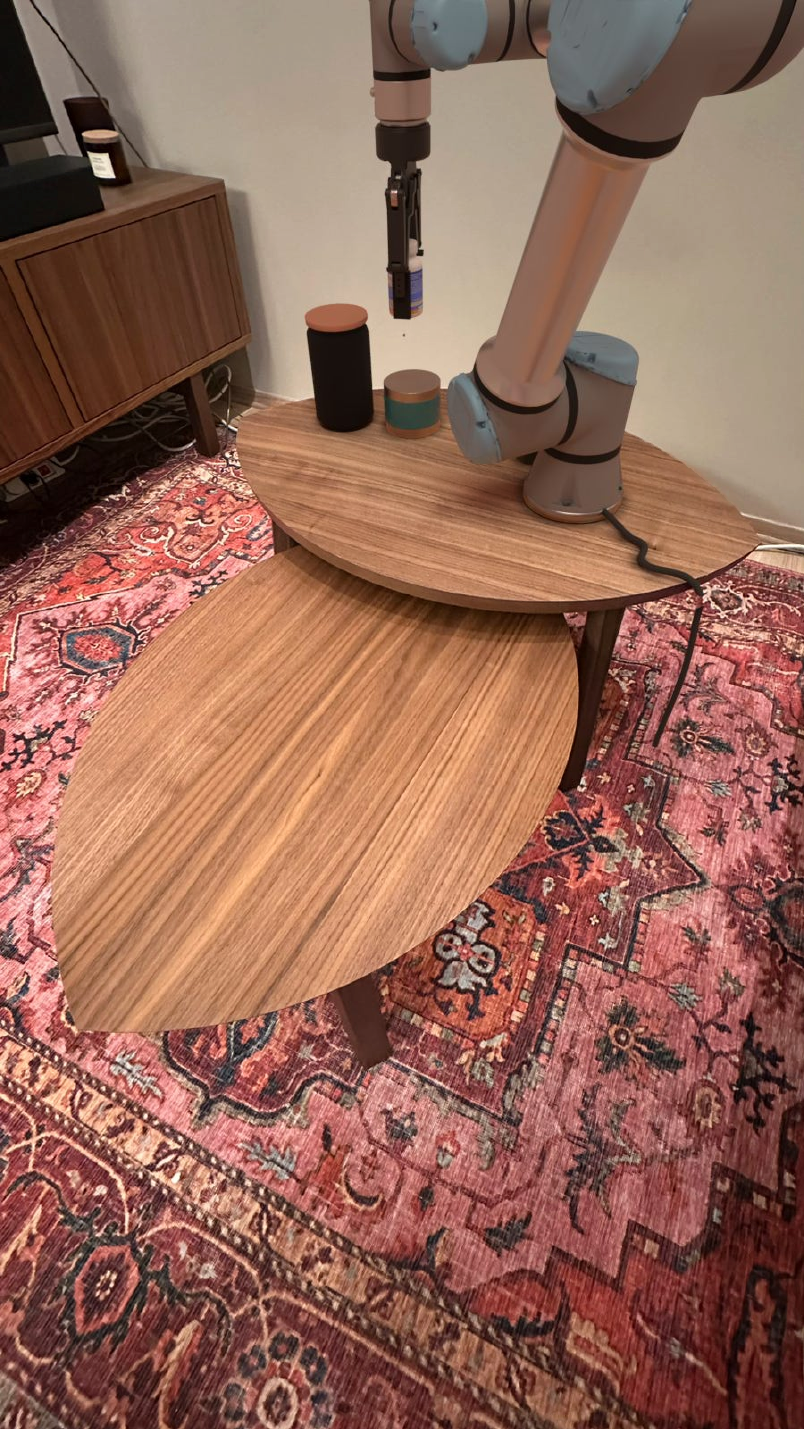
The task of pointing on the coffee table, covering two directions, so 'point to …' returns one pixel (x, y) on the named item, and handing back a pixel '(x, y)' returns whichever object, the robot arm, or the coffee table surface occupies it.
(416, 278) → the pill bottle
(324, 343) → the coffee jar
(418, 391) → the tin
